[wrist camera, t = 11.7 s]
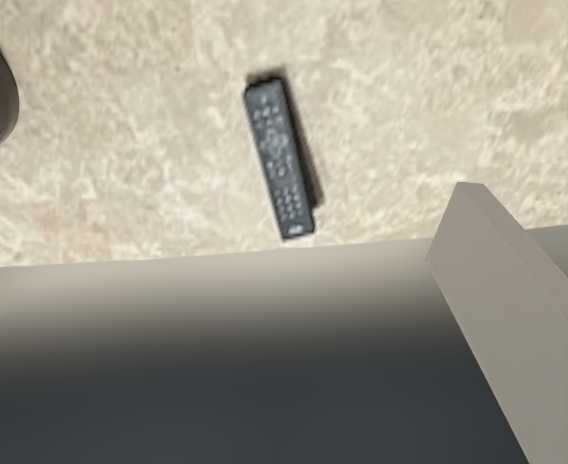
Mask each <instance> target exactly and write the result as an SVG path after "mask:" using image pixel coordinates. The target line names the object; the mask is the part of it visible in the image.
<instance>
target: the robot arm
mask: <svg viewBox="0 0 568 464" xmlns="http://www.w3.org/2000/svg"><path fill="white" fill-rule="evenodd" d="M18 114H19V98H18V92H17V88H16V85H15V82H14V79H13V77H12V74H11V72H10V70H9V68H8V66H7V65H6V63H5V61H4V60H3V58H2V57H1V55H0V143H2V142H3V141H4V140H5V139H6V138H7V137H8V136H9V135H10V134H11V132H12V131H13V129H14V127H15V125H16V122H17V119H18ZM425 260H426V262H427V263H428V266H429V268H430V270H431V271H432V273H433V275H434V277H435V279H436V281H437V283H438V285H439V287H440V289H441V291H442V293H443V295H444V297H445V299H446V301H447V303H448V305H449V307H450V309H451V311H452V312H453V315H454V317H455V318H456V320H457V322H458V324H459V326H460V328H461V330H462V332H463V334H464V336H465V338H466V340H467V342H468V344H469V346H470V348H471V350H472V352H473V354H474V356H475V357H476V360H477V362H478V363H479V365H480V367H481V369H482V371H483V373H484V375H485V377H486V379H487V381H488V383H489V385H490V387H491V389H492V391H493V393H494V395H495V397H496V399H497V401H498V403H499V405H500V407H501V408H502V410H503V412H504V414H505V416H506V418H507V420H508V422H509V424H510V426H511V428H512V430H513V432H514V434H515V436H516V438H517V439H518V442H519V444H520V446H521V448H522V450H523V451H524V453H525V455H526V457H527V459H528V461H529V463H530V464H568V278H567V277H566V276H565V275H564V273H563V272H562V271H561V270H560V269H559V268H558V267H557V266H556V264H555V263H554V262H553V261H552V260H551V259H550V258H549V257H548V256H547V254H546V253H545V252H544V251H543V250H542V249H541V248H540V247H539V245H538V244H537V243H536V242H535V241H534V240H533V239H532V238H531V237H530V236H529V234H528V233H527V232H526V231H525V230H524V229H523V228H522V226H521V225H520V224H519V223H518V222H517V221H516V220H515V219H514V218H513V216H512V215H511V214H510V213H509V212H508V211H507V210H506V209H505V207H504V206H503V205H502V204H501V203H500V202H499V201H498V200H497V199H496V197H495V196H494V195H493V194H492V193H491V192H490V191H489V190H488V188H487V187H486V186H485V185H484V184H478V183H468V182H457V184H456V186H455V188H454V191H453V193H452V196H451V198H450V200H449V203H448V205H447V208H446V210H445V213H444V215H443V217H442V220H441V222H440V225H439V227H438V229H437V232H436V234H435V237H434V239H433V242H432V244H431V246H430V249H429V251H428V254H427V256H426V258H425Z"/></svg>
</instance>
